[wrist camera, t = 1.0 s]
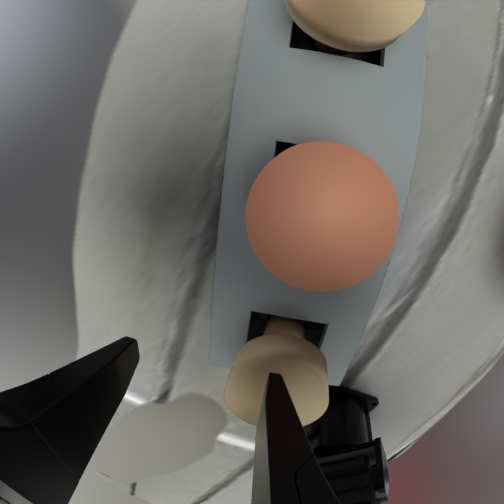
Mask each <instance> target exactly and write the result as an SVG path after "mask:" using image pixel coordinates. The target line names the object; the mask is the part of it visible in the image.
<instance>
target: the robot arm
mask: <svg viewBox="0 0 504 504" xmlns="http://www.w3.org/2000/svg"><path fill="white" fill-rule="evenodd" d="M139 358H140V356H139V349H138V343H137V340H136V339H134V338H130V337H123V338H121V339H119V340H117V341H115V342H113V343H111V344H109V345H107V346H105V347H103V348H101V349H99V350H97V351H95V352H93V353H91V354H89V355H86V356H84V357H82V358H80V359H78V360H76V361H74V362H72V363H70V364H68V365H66V366H64V367H62V368H59V369H57V370H55V371H53V372H51V373H50V374H47V375H45V376H42V377H40V378H38V379H36V380H33V381H31V382H29V383H26V384H23V385H21V386H18V387H15V388H12V389H9V390H6V391H3V392H0V504H68V502H69V501H70V499H71V497H72V495H73V493H74V491H75V489H76V487H77V485H78V483H79V480H80V478H81V476H82V474H83V472H84V470H85V468H86V467H87V465H88V463H89V461H90V459H91V457H92V455H93V453H94V451H95V449H96V447H97V445H98V443H99V442H100V440H101V438H102V436H103V434H104V432H105V430H106V428H107V427H108V425H109V423H110V421H111V419H112V417H113V416H114V414H115V412H116V410H117V408H118V407H119V405H120V403H121V401H122V399H123V397H124V395H125V393H126V391H127V389H128V386H129V384H130V381H131V379H132V376H133V374H134V372H135V369H136V367H137V364H138V362H139ZM328 388H330V389H329V404H328V407H327V409H326V411H325V412H324V414H323V415H322V416H321V417H320V418H318V419H317V420H315V421H314V422H312V423H310V424H308V425H305V426H302V423H301V421H300V419H299V416H298V414H297V411H296V409H295V406H294V404H293V401H292V399H291V396H290V394H289V391H288V389H287V387H286V384H285V382H284V379H283V377H282V375H281V374H279V373H273V372H270V373H269V374H268V377H267V381H266V385H265V390H264V394H263V399H262V405H261V410H260V415H259V420H258V424H257V430H256V441H255V457H254V472H253V486H252V500H251V504H381V503H383V502H387V501H388V493H389V490H388V489H389V476H388V467H387V460H386V455H385V452H384V448H383V445H382V441H381V438H376V439H374V440H372V432H371V424H370V417H369V412H370V411H372V410H373V409H374V408H375V407H376V406H377V405H378V404H379V402H378V399H376V398H373V397H370V396H367V395H364V394H361V393H358V392H355V391H352V390H349V389H346V388H344V387H341V386H334V385H328Z"/></svg>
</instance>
